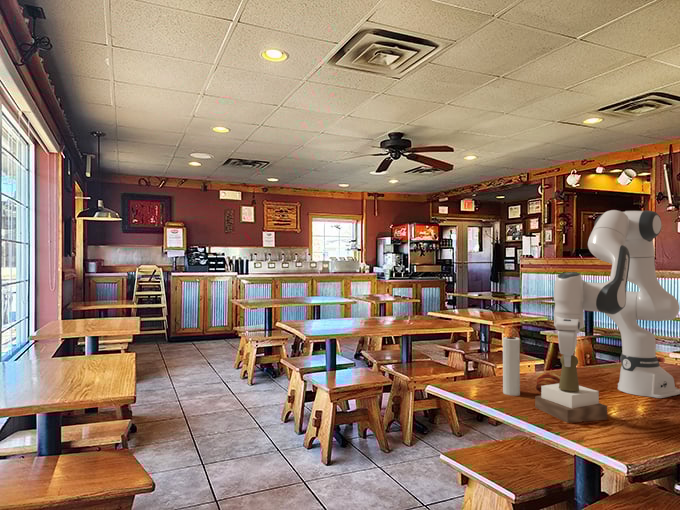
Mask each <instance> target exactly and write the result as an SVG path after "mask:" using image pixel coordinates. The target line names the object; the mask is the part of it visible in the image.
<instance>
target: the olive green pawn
mask: <svg viewBox="0 0 680 510" xmlns="http://www.w3.org/2000/svg"><path fill="white" fill-rule="evenodd" d="M560 363H561V371H560V375H559V376H560V383H559V389H562V390H568V391H579V386H580V385H579V377H578V370H577V366H578V364H579V358H578V357H577V356H576V355H574V354H573V355H571V366H570V367H565V366H564V354H561V356H560Z"/></svg>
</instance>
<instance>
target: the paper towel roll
mask: <svg viewBox="0 0 680 510" xmlns="http://www.w3.org/2000/svg"><path fill="white" fill-rule="evenodd" d="M520 341H521V339H520V338H519V337H517V336H516V337H513V336H505V337H502V393H503V394H504V395H507V396H512V397H515V396H516V397H517V396H518V397H519V396H520V395H521V386H520V385H521V382H520V381H521V377H520V376H521V374H520V373H521V372H520V371H521V370H520V368H521V367H520V366H521V365H520V363H521V362H520V359H521V358H520V355H521V353H520V351H521V350H520V349H521V348H520V347H521V345H520V343H521V342H520Z"/></svg>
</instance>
